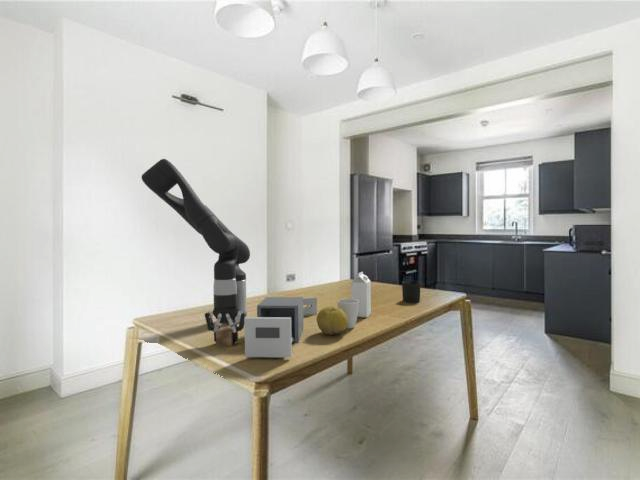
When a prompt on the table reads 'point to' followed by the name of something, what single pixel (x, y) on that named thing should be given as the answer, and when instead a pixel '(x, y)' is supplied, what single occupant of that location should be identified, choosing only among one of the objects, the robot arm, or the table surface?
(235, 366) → the table surface
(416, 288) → the pen holder
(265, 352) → the grey flat-panelled piece
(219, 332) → the block
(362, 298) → the milk carton
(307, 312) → the cassette
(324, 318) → the fruit
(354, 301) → the cup
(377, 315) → the table surface
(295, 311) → the grey open box
